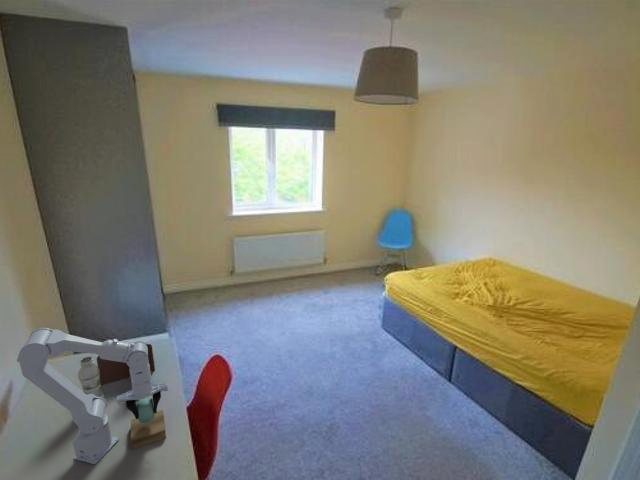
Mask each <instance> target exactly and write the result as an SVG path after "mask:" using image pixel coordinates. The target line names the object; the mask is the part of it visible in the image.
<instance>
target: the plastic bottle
mask: <svg viewBox="0 0 640 480" xmlns="http://www.w3.org/2000/svg"><path fill="white" fill-rule="evenodd" d="M79 363H80V369H79V370H78V373H77V377H78V380H79V382H80V385H81V388H82V392H84V393H85V394H86V395H88V394H93V395H95V396H97V397H101V398H103V399H105V400H106V397H105V394H104V391H103V389H102V385H101V381H100V370H99V368H98V365H97V364H95V363H94V358H93V357H92V356H86V357H82V358H81V359H80V362H79Z"/></svg>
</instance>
